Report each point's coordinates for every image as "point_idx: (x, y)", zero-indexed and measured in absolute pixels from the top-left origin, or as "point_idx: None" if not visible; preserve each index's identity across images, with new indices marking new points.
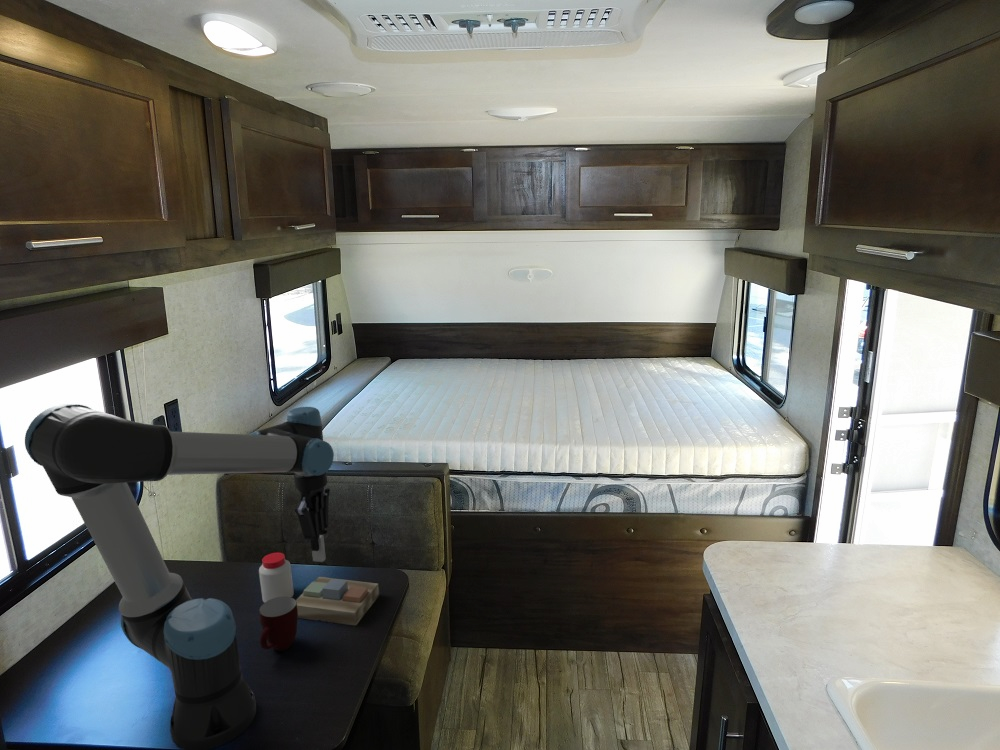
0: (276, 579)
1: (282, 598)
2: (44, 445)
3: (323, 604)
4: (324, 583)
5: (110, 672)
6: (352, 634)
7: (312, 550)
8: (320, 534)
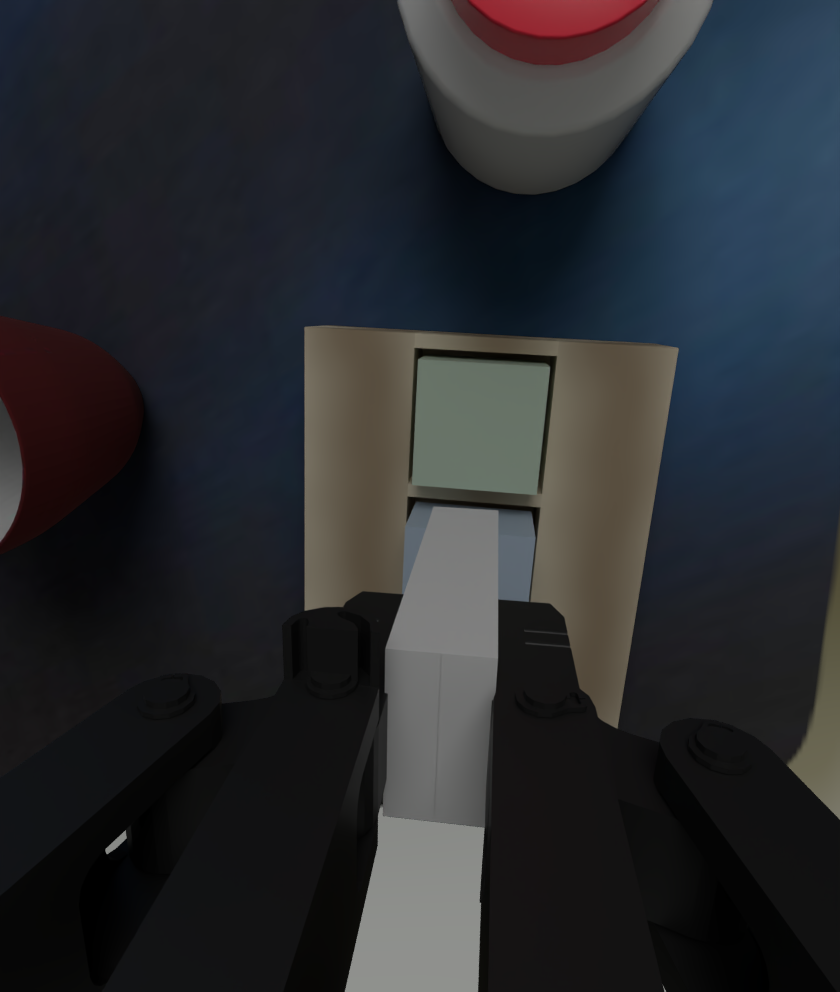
0: (427, 84)
1: (19, 411)
2: None
3: (347, 534)
4: (531, 471)
5: None
6: (261, 693)
7: (360, 598)
8: (485, 790)
